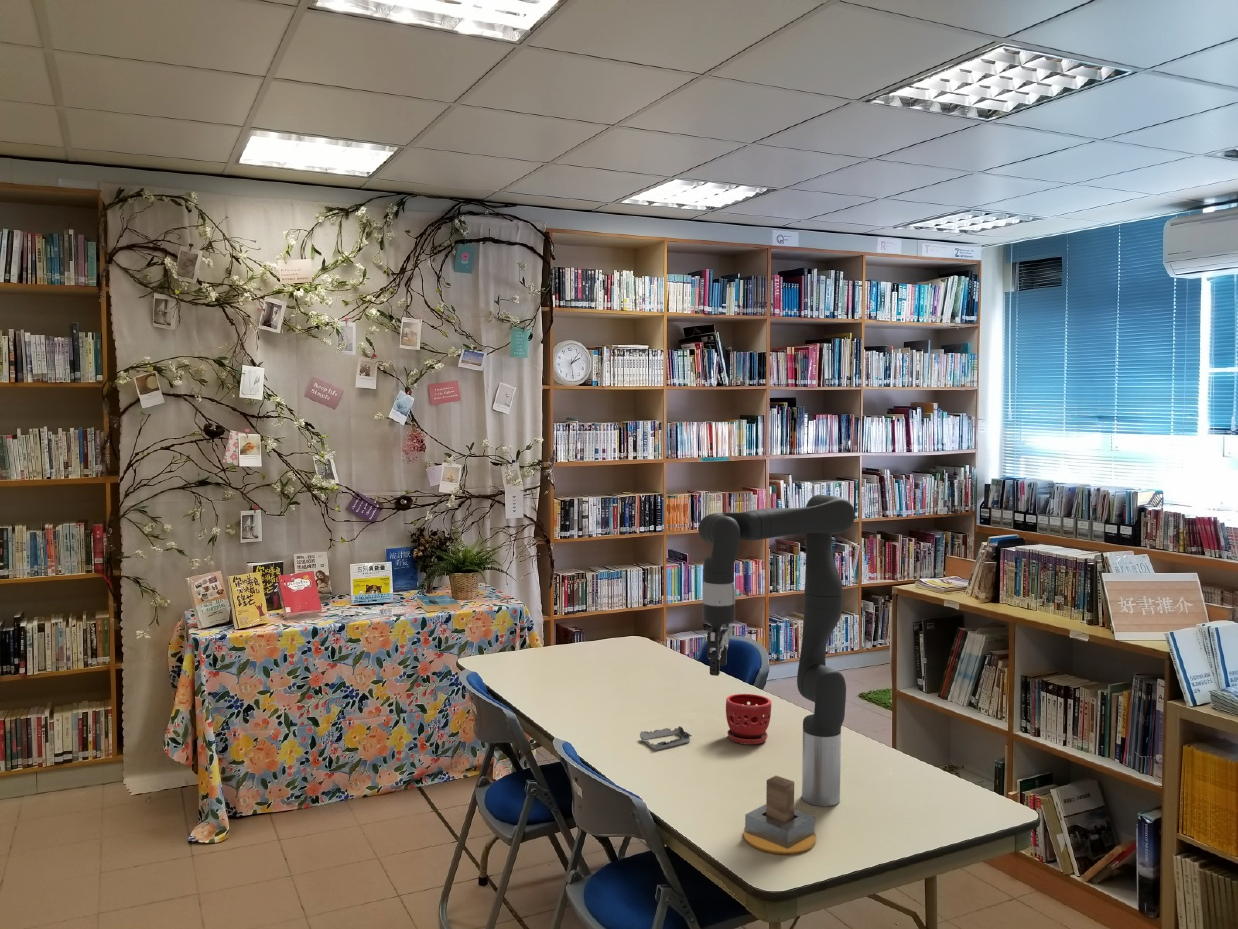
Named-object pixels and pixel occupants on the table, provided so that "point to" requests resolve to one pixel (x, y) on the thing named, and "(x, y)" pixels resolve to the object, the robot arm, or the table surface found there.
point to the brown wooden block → (780, 799)
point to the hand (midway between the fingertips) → (718, 670)
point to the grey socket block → (779, 833)
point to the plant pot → (748, 718)
